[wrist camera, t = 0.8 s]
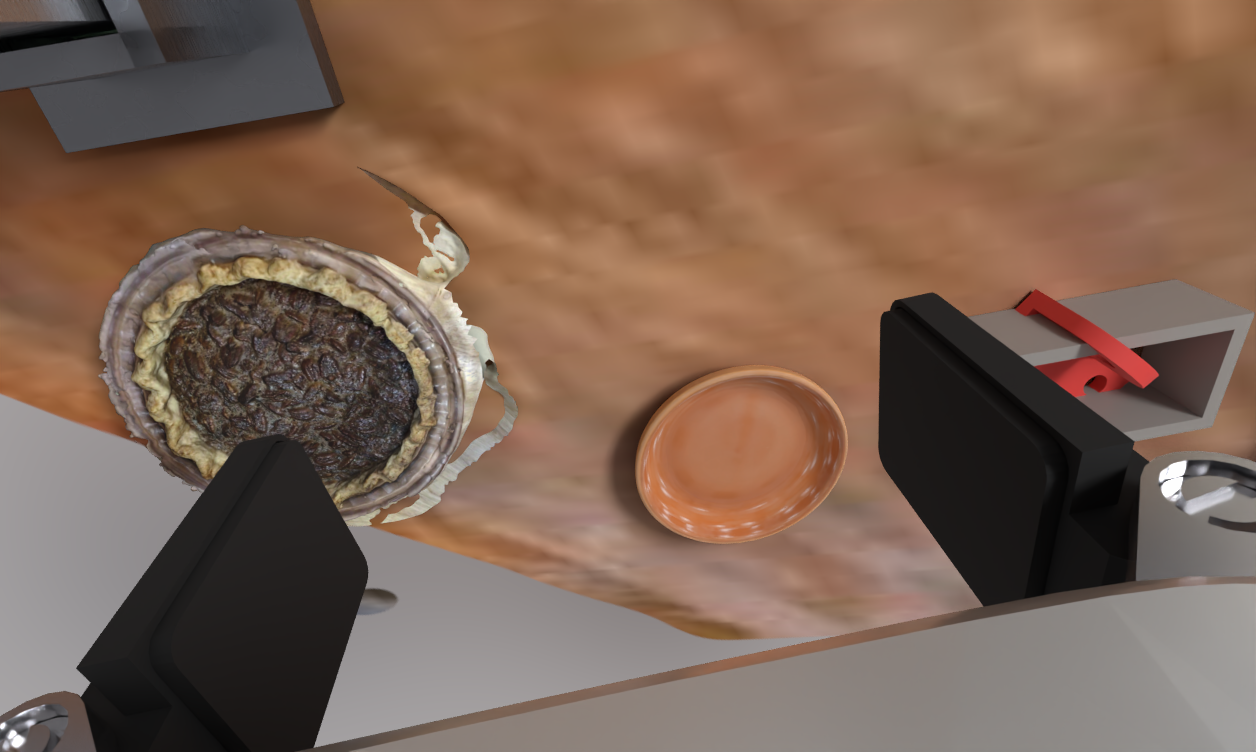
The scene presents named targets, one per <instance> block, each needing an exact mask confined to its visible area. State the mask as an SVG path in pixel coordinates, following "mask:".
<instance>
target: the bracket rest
mask: <svg viewBox="0 0 1256 752" xmlns="http://www.w3.org/2000/svg"><path fill="white" fill-rule="evenodd" d="M1057 302H1058V303H1060V304H1062V305H1063V306H1065V307H1067V308H1068V309H1070V310H1072V311H1074V312H1075V313H1077V314H1079V315H1080V316H1082V317H1084V318H1085V319H1087V320H1089V321H1090V322H1092V323H1093V324H1095V325H1096V326H1098V327H1099V328H1101V329H1102V330H1104V331H1105V332H1107V333H1108V334H1110V335H1111V336H1113V337H1114V338H1115V339H1117V340H1118V341H1120V342H1121V343H1122V344H1124V345H1125V346H1126V347H1128V348H1129V349H1130V348H1136V347H1141V346H1144V347H1143V351H1142V354H1141V358H1142V359H1143V360H1144V361H1146V362H1147V363H1148V364H1149V365H1150V366H1151V367H1152V368H1154V369H1155V370H1156V372H1157V373H1158V374H1159V376H1158V377H1157V378H1155V379H1154V380H1153V381H1152V382H1151V383H1149V384H1148V385H1147V386H1146V387H1145V388H1143V389H1142V388H1140V387H1138V386H1136V385H1134V384H1133V383H1131V382H1128V383H1126V384H1125V385H1124V386H1123V387H1122V388H1121V389H1116V390H1111V391H1105V392H1100V393H1099V392H1097V391H1096V390H1094V389H1093V388H1091V387H1090V386H1088V385H1085V386H1084V389H1083V391H1084V393H1085V394H1086V395H1084V396H1078V397H1076V398H1077V399H1078V400H1080V401H1081V402H1082V403H1084V404H1085V405H1086V406H1088V407H1089V408H1090V409H1092V410H1093V411H1094V412H1096V413H1097V414H1098V415H1100V416H1101V417H1102V418H1104V419H1105V420H1106V421H1108V422H1109V423H1111V424H1112V425H1113V426H1115V427H1116V428H1117V429H1119V430H1120V431H1121V432H1123V433H1124V434H1125V435H1127V436H1128V437H1129V438H1131V439H1132V440H1133V441H1139V440H1145V439H1150V438H1155V437H1161V436H1166V435H1172V434H1177V433H1182V432H1188V431H1193V430H1198V429H1204V428H1209V427H1212V425H1213V423H1214V420H1215V417H1216V415H1217V412H1218V409H1219V407H1220V404H1221V401H1222V399H1223V396H1224V393H1225V391H1226V388H1227V386H1228V383H1229V380H1230V378H1231V375H1232V372H1233V370H1234V367H1235V364H1236V362H1237V359H1238V356H1239V354H1240V351H1241V349H1242V346H1243V343H1244V341H1245V338H1246V335H1247V333H1248V330H1249V327H1250V325H1251V322H1252V319H1253V317H1254V314H1255V312H1252V311H1250V310H1247V309H1245V308H1243V307H1240V306H1238V305H1236V304H1233V303H1231V302H1229V301H1226V300H1224V299H1222V298H1219V297H1217V296H1214V295H1212V294H1210V293H1207V292H1205V291H1203V290H1200V289H1198V288H1196V287H1193V286H1191V285H1188V284H1186V283H1184V282H1181V281H1179V280H1177V279H1175V280H1169V281H1164V282H1158V283H1153V284H1147V285H1142V286H1136V287H1130V288H1125V289H1119V290H1114V291H1108V292H1103V293H1097V294H1092V295H1086V296H1081V297H1075V298H1070V299H1064V300H1059V301H1057ZM1015 309H1016V308H1015ZM1015 309H1009V310H1004V311H998V312H993V313H987V314H982V315H976V316H971V317H968V318H969V319H971V320H972V321H973V322H975V323H976V324H977V325H979V326H980V327H981V328H983V329H984V330H986V331H987V332H988V333H990V334H991V335H992V336H994V337H995V338H996V339H998V340H999V341H1000V342H1002V343H1003V344H1004V345H1006V346H1007V347H1008V348H1010V349H1011V350H1012V351H1014V352H1015V353H1016V354H1018V355H1019V356H1020V357H1022V358H1023V359H1024V360H1026V361H1027V362H1029V363H1030V364H1031V365H1033V366H1037V365H1043V364H1048V363H1054V362H1059V361H1065V360H1070V359H1076V358H1081V357H1087V356H1092V355H1098V354H1099V353H1098V352H1096V351H1095V350H1094V349H1093V348H1092V347H1091V346H1089V345H1088V344H1087V343H1086V342H1084V341H1082V340H1081V339H1079V338H1078V337H1076V336H1074V335H1073V334H1071V333H1070V332H1068V331H1066V330H1065V329H1063V328H1062V327H1060V326H1059V325H1057V324H1055V323H1054V322H1052V321H1051V320H1049V319H1047V318H1046V317H1044V316H1043V315H1041V314H1035V315H1029V316H1024V315H1022V314H1021V313H1019V312H1017V311H1016V310H1015Z"/></svg>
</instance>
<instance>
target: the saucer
mask: <svg viewBox="0 0 1256 752" xmlns="http://www.w3.org/2000/svg"><path fill="white" fill-rule="evenodd" d="M847 448H848V436H847V429H846V425H845V422H844V419H843V416H842V414H841V412H840V410H839V408H838V407H837V405H836V404H835V402H834V401H833V399H832V398H831V397H830V396H829V395H828V394H827V393H826V392H825V391H824V390H823V389H822V388H821V387H819V386H818V385H817V384H816V383H814V382H813V381H812V380H810V379H808V378H807V377H805V376H803V375H801V374H799V373H796V372H794V371H791V370H787V369H784V368H780V367H775V366H767V365H745V366H737V367H732V368H727V369H723V370H719V371H716V372H713V373H710V374H707V375H705V376H703V377H701V378H698V379H696V380H695V381H693V382H691V383H689V384H687V385H686V386H684V387H683V388H681V389H680V390H678V391H677V392H676V393H674V394H673V395H672V396H671V397H670V398H668V399H667V400H666V401H665V402H664V403H663V404H662V405H661V406H660V407H659V409H658V410H657V411H656V412H655V413H654V415H653V416H652V418H651V419H650V420H649V422H648V424H647V426H646V427H645V429H644V431H643V433H642V436H641V438H640V441H639V444H638V448H637V453H636V462H635V478H636V485H637V489H638V492H639V495H640V497H641V500H642V502H643V504H644V505H645V507H646V508H647V510H648V511H649V512H650V514H651V515H652V516H653V517H654V518H655V519H656V520H657V521H658V522H659V523H661V524H662V525H663V526H665V527H666V528H668V529H669V530H671V531H673V532H675V533H677V534H679V535H681V536H684V537H686V538H689V539H693V540H696V541H700V542H706V543H715V544H732V543H742V542H748V541H754V540H758V539H761V538H765V537H768V536H770V535H773V534H776V533H778V532H780V531H783V530H784V529H786V528H788V527H790V526H792V525H794V524H795V523H797V522H799V521H800V520H802V519H803V518H805V517H806V516H807V515H808V514H810V513H811V512H812V511H813V510H814V509H816V508H817V507H818V506H819V505H820V504H821V503H822V502H823V500H824V499H825V498H826V497H827V496H828V494H829V493H830V492H831V490H832V489H833V487H834V486H835V484H836V483H837V481H838V479H839V477H840V475H841V472H842V470H843V467H844V464H845V461H846V456H847Z"/></svg>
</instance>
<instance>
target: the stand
mask: <svg viewBox="0 0 1256 752" xmlns="http://www.w3.org/2000/svg"><path fill="white" fill-rule="evenodd" d="M103 2H104V4H105V6H106V8H107V10H108V12H109V14H110V16H111V18H112V20H113V22H114V25H115V27H116V29H117V31H118V33H116V34H110V35H104V36H98V37H92V38H86V39H74V38H73V37H52V38H30V39H8V40H0V92H4V91H11V90H18V89H26V88H30V90H31V92H32V94H33V95H34V97H35V99H36V101H37V103H38V104H39V106H40V108H41V110H42V111H43V113H44V115H45V117H46V118H47V120H48V122H49V124H50V125H51V127H52V129H53V131H54V132H55V134H56V136H57V138H58V139H59V141H60V143H61V145H62V146H63V148H64V150H65V152H66V153H70V152H75V151H81V150H87V149H93V148H98V147H104V146H110V145H116V144H122V143H127V142H133V141H139V140H145V139H150V138H156V137H162V136H168V135H174V134H179V133H185V132H191V131H197V130H202V129H208V128H214V127H220V126H225V125H231V124H237V123H243V122H249V121H254V120H260V119H266V118H272V117H277V116H283V115H289V114H295V113H301V112H306V111H312V110H318V109H324V108H329V107H334V106H337V105H339V104H341V103H344V99H343V96H342V93H341V90H340V88H339V85H338V82H337V79H336V76H335V73H334V70H333V67H332V64H331V61H330V59H329V56H328V53H327V50H326V47H325V44H324V41H323V38H322V35H321V32H320V29H319V27H318V24H317V21H316V18H315V15H314V12H313V9H312V6H311V3H310V0H103Z"/></svg>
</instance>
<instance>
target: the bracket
mask: <svg viewBox="0 0 1256 752" xmlns="http://www.w3.org/2000/svg"><path fill="white" fill-rule="evenodd" d="M1015 310H1016V311H1017V312H1019V313H1021V314H1022V315H1024V316H1029V315H1035V314H1041V315H1043V316H1044V317H1046V318H1047V319H1049V320H1051V321H1052V322H1054V323H1055V324H1057V325H1059V326H1060V327H1062V328H1063V329H1065V330H1066V331H1068V332H1070V333H1071V334H1073V335H1074V336H1076V337H1078V338H1079V339H1081V340H1082V341H1084V342H1086V343H1087V344H1088V345H1089V346H1091V347H1092V348H1093V349H1094V350H1095V351H1096V352H1098V353H1099V354H1098V355H1092V356H1087V357H1081V358H1076V359H1070V360H1065V361H1059V362H1054V363H1048V364H1043V365H1037V366H1034V367H1035V368H1037V369H1038V370H1039V371H1041V372H1042V373H1043V374H1045V375H1046V376H1047V377H1049V378H1050V379H1051V380H1053V381H1054V382H1055V383H1057V384H1058V385H1059V386H1061V387H1062V388H1063V389H1065V390H1066V391H1067V392H1069V393H1070V394H1072V395H1073V396H1074V397H1078V396H1084V395H1086V394H1085V393H1084V391H1083V389H1084V385H1085V384H1086V382H1087V381H1088V380H1089V379H1091V378H1092V377H1094V376H1096V377H1095V379H1094V380H1093V382H1092V383H1090V384H1089V385H1088V386H1090V387H1091V388H1093V389H1094V390H1096V391H1097V392H1099V393H1100V392H1105V391H1111V390H1116V389H1121V388H1122V387H1123V386H1124V385H1125V384H1126V383H1128V382H1131V383H1133V384H1134V385H1136V386H1138V387H1140V388H1142V389H1143V388H1145V387H1146V386H1147V385H1148V384H1149V383H1151V382H1152V381H1153V380H1154V379H1155V378H1157V377H1158V376H1159V374H1158V373H1157V372H1156V370H1155V369H1154V368H1152V367H1151V366H1150V365H1149V364H1148V363H1147V362H1146V361H1144V360H1143V359H1142V358H1141V357H1139V356H1138V355H1137V354H1136V353H1134V352H1133V351H1132V350H1130V349H1129V348H1128V347H1126V346H1125V345H1124V344H1122V343H1121V342H1120V341H1118V340H1117V339H1115V338H1114V337H1113V336H1111V335H1110V334H1108V333H1107V332H1105V331H1104V330H1102V329H1101V328H1099V327H1098V326H1096V325H1095V324H1093V323H1092V322H1090V321H1089V320H1087V319H1085V318H1084V317H1082V316H1080V315H1079V314H1077V313H1075V312H1074V311H1072V310H1070V309H1068V308H1067V307H1065V306H1063V305H1062V304H1060V303H1058V302H1057V301H1055V300H1053V299H1051V298H1050V297H1048V296H1046V295H1045V294H1043V293H1041V292H1040V291H1038V290H1036V289H1035V290H1034V291H1033V292H1032V293H1031V294H1030V295H1029V296H1028V297H1027V298H1026V299H1025V300H1024V301H1023V302H1022V303H1021V304H1020V305H1019V306H1018V307H1017V308H1016V309H1015Z"/></svg>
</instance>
